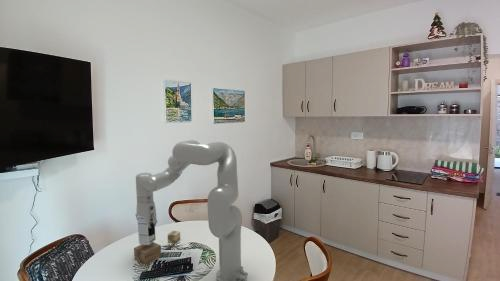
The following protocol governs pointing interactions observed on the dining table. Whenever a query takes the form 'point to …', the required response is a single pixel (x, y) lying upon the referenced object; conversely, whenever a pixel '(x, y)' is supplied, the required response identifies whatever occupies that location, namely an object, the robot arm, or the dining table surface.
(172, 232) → the oak cube
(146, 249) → the brown cardboard box
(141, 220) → the syrup box
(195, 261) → the dining table surface
